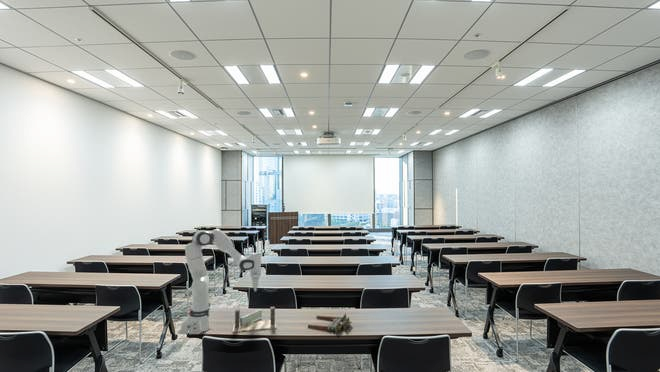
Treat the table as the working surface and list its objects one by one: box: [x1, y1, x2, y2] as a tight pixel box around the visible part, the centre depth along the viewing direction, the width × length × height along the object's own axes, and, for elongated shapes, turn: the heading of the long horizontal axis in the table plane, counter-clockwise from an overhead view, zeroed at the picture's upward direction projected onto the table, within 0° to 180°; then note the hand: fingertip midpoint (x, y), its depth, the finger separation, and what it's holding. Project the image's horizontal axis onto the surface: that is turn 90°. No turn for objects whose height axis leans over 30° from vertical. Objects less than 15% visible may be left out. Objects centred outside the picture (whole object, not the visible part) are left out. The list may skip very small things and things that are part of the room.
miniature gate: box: [307, 313, 352, 335], centre depth 237 cm, size 27×6×30 cm
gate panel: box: [240, 309, 263, 326], centre depth 240 cm, size 21×2×6 cm, turn 148°
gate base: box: [232, 306, 277, 334], centre depth 234 cm, size 31×14×13 cm, turn 103°
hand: (255, 290), depth 253 cm, fingers open, 3 cm apart
